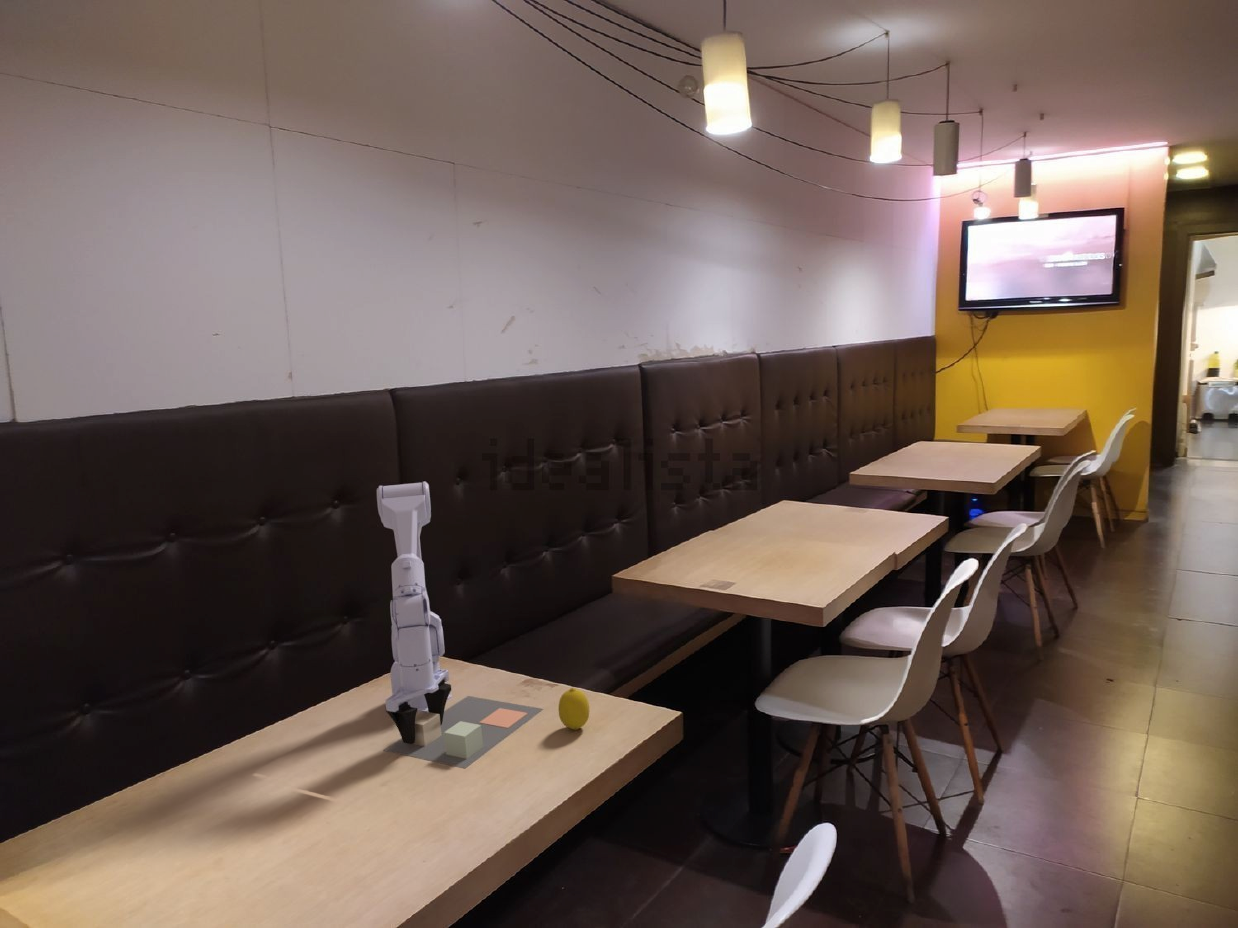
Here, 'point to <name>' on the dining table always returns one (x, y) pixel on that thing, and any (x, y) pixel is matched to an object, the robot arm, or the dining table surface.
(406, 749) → the grey mat
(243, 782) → the dining table surface
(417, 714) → the cream block
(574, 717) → the lemon
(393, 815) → the dining table surface
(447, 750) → the sage block
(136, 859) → the dining table surface
